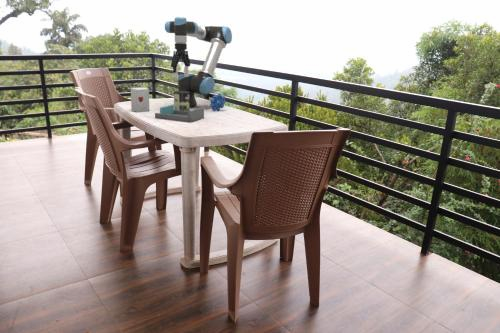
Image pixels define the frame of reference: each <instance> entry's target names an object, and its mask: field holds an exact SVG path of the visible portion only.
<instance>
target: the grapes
mask: <svg viewBox="0 0 500 333" xmlns="http://www.w3.org/2000/svg"><path fill="white" fill-rule="evenodd" d="M212 97H213V98H211V99H210V100H209V101H210V102H209V103H210V104H209V107H210V108H211V110H212V111H216V112H217V111H220V110H221V109H223V108H224V107H225V104H226V103H227V101H226V97H225V95H222V94H221V93H217V94H214V95H213V96H212Z"/></svg>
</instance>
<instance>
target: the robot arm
mask: <svg viewBox="0 0 500 333" xmlns="http://www.w3.org/2000/svg"><path fill="white" fill-rule="evenodd" d="M164 31H165V32H166V33H168V34H174V51H173V55H172V59H171V63H170V67H171V68H172V72H173V73H172V75H173V76H172V77H173V79H177V91H189V109H191V108H197V107H198V102H197V99H196V97H195V96H196V95H195V94H203V95H208V94H211V93H212V92H213V90H214V88H215V79H214V76H213V75H214V72H215V70H216V67H217V65H218V62H219V59H220V56H221V53H222V51H223V49H225V48H226V47H227V44H231V43H232V40H233V34H232V33H233V32H232V30H231V28H230V27H228V26H224V25H223V26H213V25H210V26H206V25H205V26H202V25H200V26H199V25H198V23H197V22H196V21H189V20H188V21H187V17H184V16H182V17H181V16H180V17H179V16H175V17H174V20H168V21H166V22H165V23H164ZM187 37H191V38H196V39H197V40H200V41H203V42H206V43H210V47H209V50H208V52H207V55H206V58H205V60H204V63H203V65H202V67H201V70H200V71H198V72H197V74H195V73H189V72H190V71H189V69H190V68H189V67H191V61H190V57H189V51H188V50H187V48H188V45H187V43H188V39H187ZM180 60H182V62H183V64H184V69H183V70H184V71H183V72H184V73H183V74H179V72H178V70H179V69H178V65H179V63H180Z"/></svg>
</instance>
